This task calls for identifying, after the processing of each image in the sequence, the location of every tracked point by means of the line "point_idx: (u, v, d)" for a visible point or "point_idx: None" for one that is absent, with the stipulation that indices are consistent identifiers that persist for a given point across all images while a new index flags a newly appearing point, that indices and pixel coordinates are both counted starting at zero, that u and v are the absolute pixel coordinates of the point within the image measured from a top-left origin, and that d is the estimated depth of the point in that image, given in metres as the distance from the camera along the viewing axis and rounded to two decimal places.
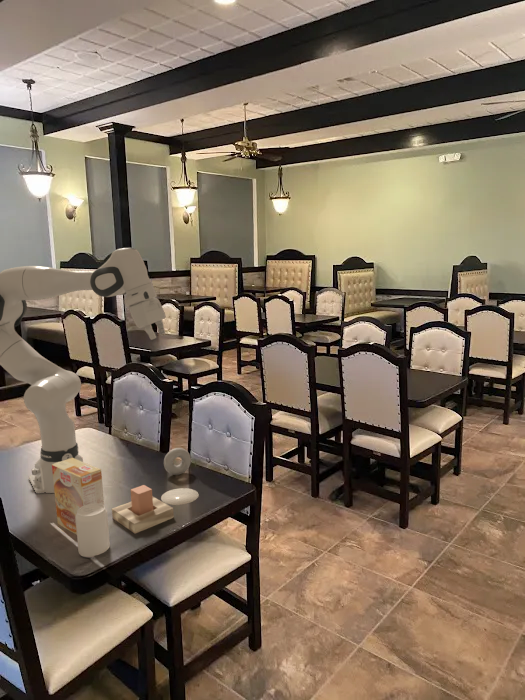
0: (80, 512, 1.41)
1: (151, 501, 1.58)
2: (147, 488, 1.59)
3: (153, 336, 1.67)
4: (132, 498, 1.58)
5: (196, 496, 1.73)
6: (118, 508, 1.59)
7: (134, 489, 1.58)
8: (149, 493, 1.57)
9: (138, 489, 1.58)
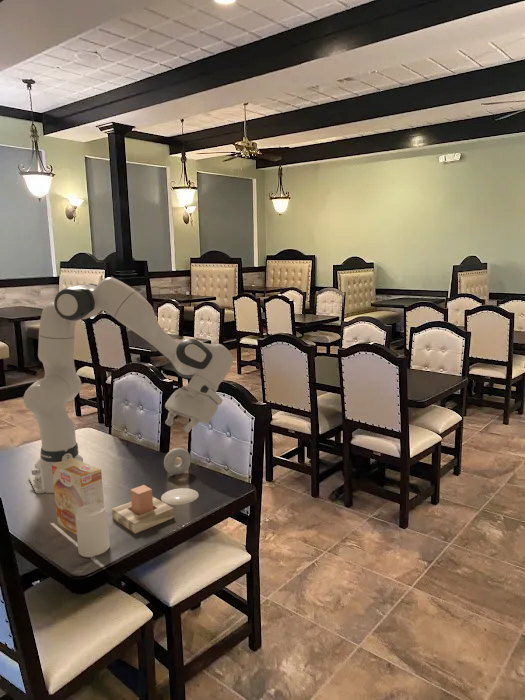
0: (80, 512, 1.41)
1: (151, 501, 1.58)
2: (147, 488, 1.59)
3: (188, 430, 1.61)
4: (132, 498, 1.58)
5: (196, 496, 1.73)
6: (118, 508, 1.59)
7: (134, 489, 1.58)
8: (149, 493, 1.57)
9: (138, 489, 1.58)
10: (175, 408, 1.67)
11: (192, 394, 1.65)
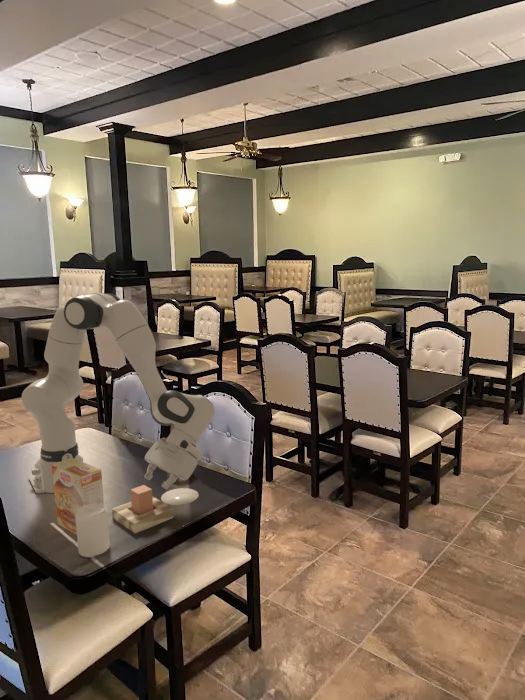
0: (80, 512, 1.41)
1: (151, 501, 1.58)
2: (147, 488, 1.59)
3: (167, 487, 1.58)
4: (132, 498, 1.58)
5: (196, 496, 1.73)
6: (118, 508, 1.59)
7: (134, 489, 1.58)
8: (149, 493, 1.57)
9: (138, 489, 1.58)
10: (154, 462, 1.64)
11: (172, 448, 1.62)
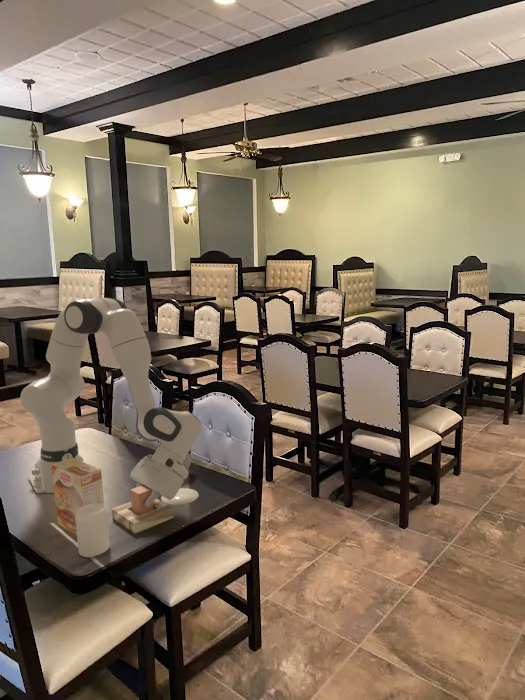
0: (80, 512, 1.41)
1: None
2: (147, 487, 1.59)
3: (149, 504, 1.56)
4: (132, 498, 1.58)
5: (196, 496, 1.73)
6: (118, 508, 1.59)
7: (134, 489, 1.58)
8: (149, 493, 1.57)
9: (138, 489, 1.58)
10: (140, 480, 1.61)
11: (157, 467, 1.59)
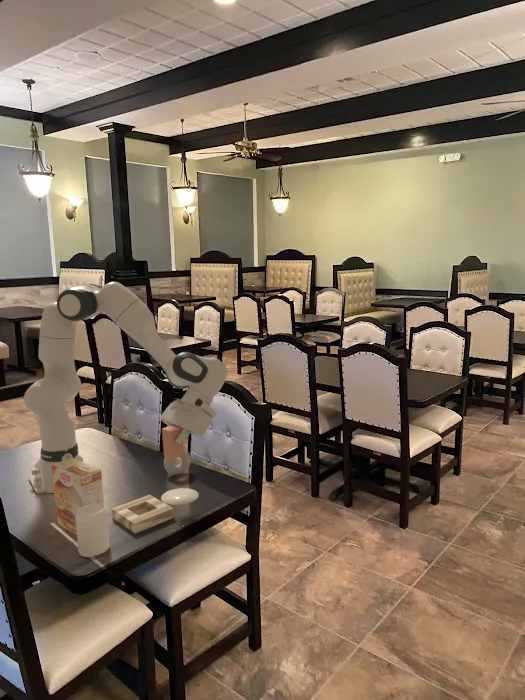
0: (80, 512, 1.41)
1: None
2: (177, 427, 1.68)
3: (180, 441, 1.65)
4: (164, 436, 1.67)
5: (196, 496, 1.73)
6: (118, 508, 1.59)
7: (165, 428, 1.67)
8: (180, 431, 1.67)
9: (169, 428, 1.67)
10: (170, 421, 1.71)
11: (187, 407, 1.69)
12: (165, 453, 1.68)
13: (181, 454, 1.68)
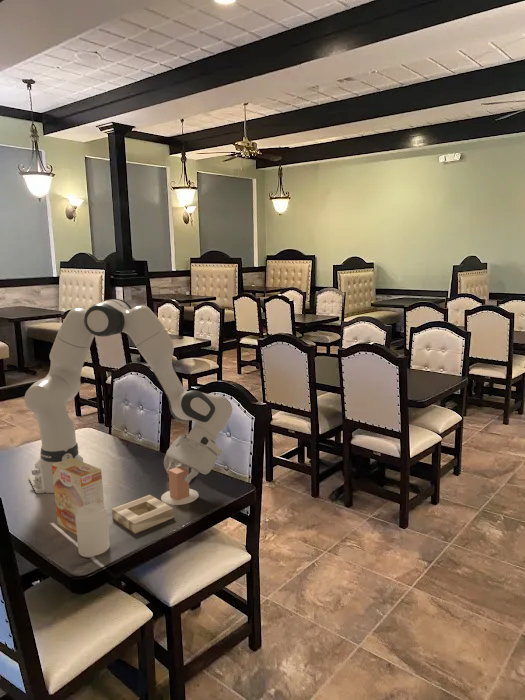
0: (80, 512, 1.41)
1: None
2: (183, 468, 1.72)
3: (189, 480, 1.68)
4: (170, 478, 1.72)
5: (196, 496, 1.73)
6: (118, 508, 1.59)
7: (172, 469, 1.72)
8: (185, 473, 1.71)
9: (175, 469, 1.72)
10: (176, 457, 1.75)
11: (192, 445, 1.73)
12: (171, 494, 1.72)
13: (187, 495, 1.72)
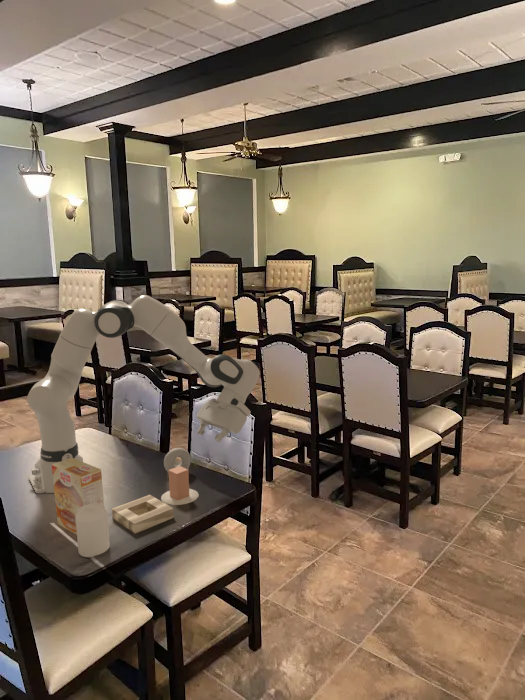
0: (80, 512, 1.41)
1: (187, 481, 1.72)
2: (183, 468, 1.72)
3: (220, 439, 1.75)
4: (170, 478, 1.72)
5: (196, 496, 1.73)
6: (118, 508, 1.59)
7: (172, 469, 1.72)
8: (186, 473, 1.71)
9: (175, 469, 1.72)
10: (206, 419, 1.82)
11: (223, 406, 1.80)
12: (171, 494, 1.72)
13: (187, 495, 1.72)
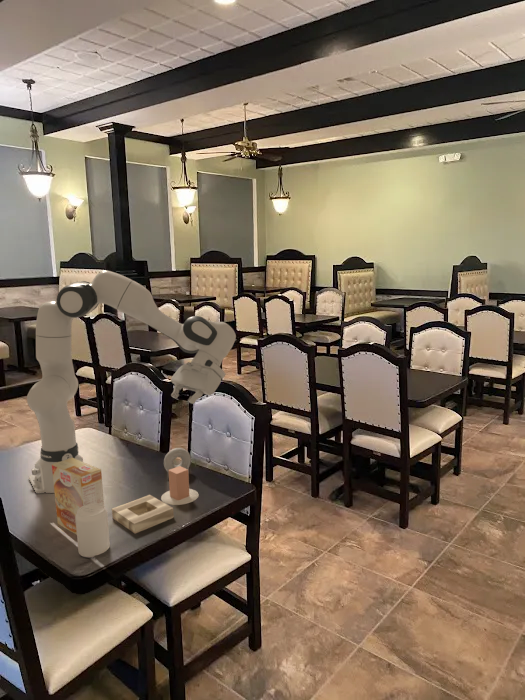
0: (80, 512, 1.41)
1: (187, 481, 1.72)
2: (183, 468, 1.72)
3: (193, 401, 1.71)
4: (170, 478, 1.72)
5: (196, 496, 1.73)
6: (118, 508, 1.59)
7: (172, 469, 1.72)
8: (186, 473, 1.71)
9: (175, 469, 1.72)
10: (181, 382, 1.77)
11: (197, 368, 1.75)
12: (171, 494, 1.72)
13: (187, 495, 1.72)
